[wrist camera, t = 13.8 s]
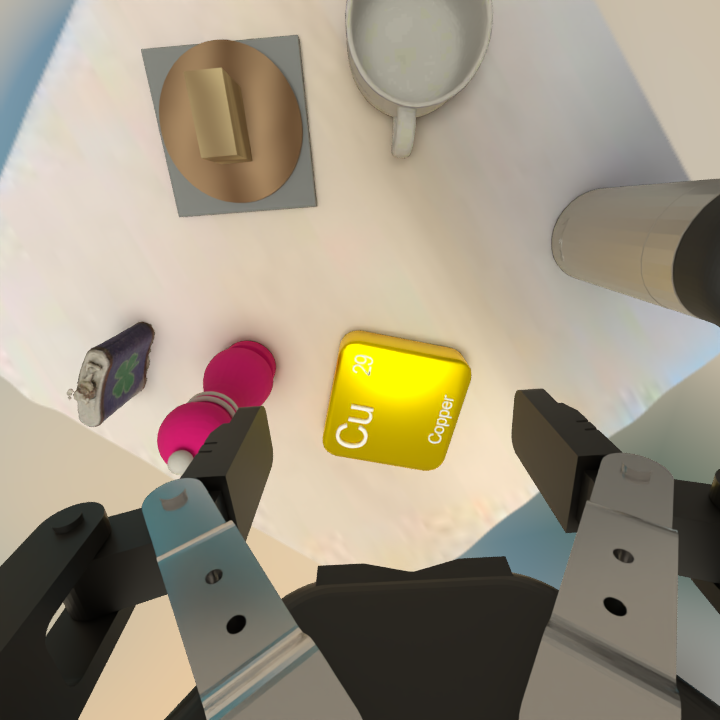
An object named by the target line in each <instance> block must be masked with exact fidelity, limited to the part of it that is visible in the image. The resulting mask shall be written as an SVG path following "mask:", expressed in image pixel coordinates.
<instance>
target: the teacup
mask: <svg viewBox="0 0 720 720" xmlns="http://www.w3.org/2000/svg"><path fill="white" fill-rule="evenodd" d="M345 19H346V36H347V51H348V59H349V64H350V68H351V72H352V75H353V78H354V80H355V82H356V84H357V86H358V88H359V90H360V91H361V93H362V95H363V96H364V97H365V98H366V99H367V101H368V102H369V103H370V104H371V105H372V106H374V107H375V108H376V109H378V110H379V111H381V112H383V113H385V114H387V115H390V116H392V117H393V135H392V154H393V156H394V157H397V158H406V157H409V155H410V154H411V151H412V147H413V142H414V136H415V128H416V117H420V116H423V115H426V114H428V113H430V112H432V111H434V110H436V109H438V108H439V107H440V106H442V105H443V104H444V103H446V102H447V101H448V100H449V99H450V98H452V97H453V96H455V95H456V94H457V93H459V92H460V91H461V90H462V89H463V88H464V87H465V86H466V85H467V84H468V83H469V81H470V80H471V79H472V77H473V76H474V75H475V73H476V72H477V70H478V68H479V67H480V64H481V62H482V60H483V58H484V55H485V53H486V51H487V47H488V44H489V41H490V36H491V31H492V21H493V9H492V0H347V4H346V13H345Z"/></svg>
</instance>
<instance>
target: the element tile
mask: <svg viewBox="0 0 720 720" xmlns="http://www.w3.org/2000/svg"><path fill="white" fill-rule="evenodd" d="M470 381H471V369H470V367H469V365H468V364H467V362H466V361H465V359H464V358H463V356H462V355H461V354H460V353H459V352H458V351H457V350H455V349H452V348H449V347H443V346H438V345H433V344H428V343H423V342H418V341H412V340H407V339H402V338H397V337H392V336H386V335H381V334H376V333H371V332H366V331H361V330H360V331H352V332H349V333H348V334H346V335H345V336H344V338H343V339H342V341H341V344H340V348H339V353H338V358H337V364H336V369H335V374H334V379H333V384H332V390H331V395H330V400H329V405H328V410H327V416H326V421H325V427H324V432H323V445H324V448H325V449H326V450H327V451H328V452H329V453H331V454H333V455H335V456H340V457H346V458H352V459H358V460H364V461H370V462H376V463H382V464H387V465H393V466H399V467H405V468H411V469H417V470H423V471H429V470H434V469H436V468H438V467H439V466H440V465H441V464H442V463H443V461H444V459H445V456H446V453H447V450H448V447H449V444H450V441H451V438H452V435H453V432H454V429H455V426H456V423H457V420H458V417H459V414H460V411H461V408H462V405H463V402H464V399H465V396H466V393H467V390H468V387H469V384H470Z"/></svg>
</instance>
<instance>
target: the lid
mask: <svg viewBox="0 0 720 720" xmlns="http://www.w3.org/2000/svg"><path fill="white" fill-rule="evenodd" d="M159 121H160V128H161V133H162V137H163V140H164V144H165V146H166V148H167V151H168V153H169V155H170V157H171V159H172V161H173V162H174V164H175V165H176V167H177V168H178V170H179V171H180V172H181V174H182V175H183V176H184V177H185V178H186V179H187V180H188V181H189V182H190V183H191V184H192V185H193V186H195V187H196V188H197V189H199V190H200V191H202V192H203V193H205V194H207V195H209V196H211V197H213V198H216V199H218V200H222V201H226V202H233V203H248V202H255V201H258V200H261V199H264V198H266V197H268V196H270V195H272V194H273V193H274V192H276V191H277V190H279V189H280V188H281V187H282V186H283V185H284V184H285V183H286V181H287V180H288V179H289V178H290V176H291V174H292V173H293V171H294V169H295V167H296V165H297V162H298V159H299V156H300V153H301V147H302V139H303V127H302V118H301V112H300V109H299V105H298V102H297V99H296V97H295V95H294V92H293V90H292V88H291V87H290V85H289V83H288V81H287V80H286V78H285V77H284V75H283V74H282V72H281V71H280V70H279V69H278V67H277V66H276V65H275V64H274V63H273V62H272V61H271V60H270V59H269V58H267V57H266V56H265V55H264V54H262V53H261V52H259V51H258V50H256V49H255V48H252V47H250V46H248V45H246V44H243V43H240V42H236V41H231V40H212V41H207V42H204V43H201V44H198V45H196V46H194V47H192V48H191V49H189V50H188V51H186V52H185V53H184V54H183V55H181V56H180V57H179V59H178V60H177V61H176V62H175V63H174V64H173V66H172V67H171V69H170V71H169V72H168V74H167V76H166V79H165V81H164V84H163V87H162V90H161V96H160V101H159Z"/></svg>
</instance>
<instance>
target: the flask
mask: <svg viewBox="0 0 720 720" xmlns="http://www.w3.org/2000/svg"><path fill="white" fill-rule="evenodd" d="M154 335H155V332H154V330H153V328H152V327H151V324H147V323H144V322H138V323H137V324H135V325H134V326H132V327H131V328H129V329H127V330H125V331H123V332H121V333H120V334H118V335H116V336H114V337H112V338H111V339H109V340H107V341H105V342H104V343H102V344H100V345H98V346H96V347H94V348H91V349H90V350H89V351H88V352H87V354H86V356H85V359H84V362H83V364H82V367H81V370H80V374H79V378H78V382H77V383H78V386H77V390H76V391H75V392H74V391H73V390H72V389H69V390H68V392H67V395H68V396H69V397H68V398H69V399H71V397H70V395H72V393H73V392H74V394H73V396H74V399H75V400H77V402H78V413H79V419H80V421H81V422H82V423H84V424H85V425H87V426H89V427H96V426H99V425H101V423H102V422H103V421H105V420H106V419H107V418H108V417H109V416H110V415H112V414H113V413H114V412H115V411H116V410H117V409H118V408H120V407H121V406H123V405H124V404H125V403H126V402H127V401H128V400H130V399H131V398H132V397H134V396H135V395H136V394H137V393H139V392H140V391H142V389H143V388H144V386H145V383H146V381H147V378H146V373H147V372H146V371H147V369H148V367H149V365H150V364H149V362H150V360H149V356H148V354H149V353H150V352H151V349H150V346H151V344H152V343H153V339H154Z"/></svg>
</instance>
